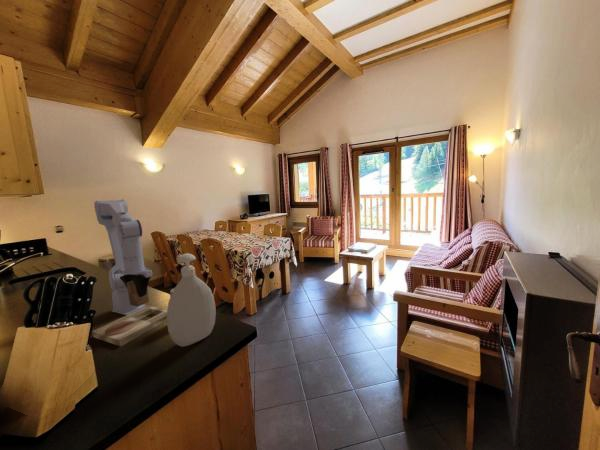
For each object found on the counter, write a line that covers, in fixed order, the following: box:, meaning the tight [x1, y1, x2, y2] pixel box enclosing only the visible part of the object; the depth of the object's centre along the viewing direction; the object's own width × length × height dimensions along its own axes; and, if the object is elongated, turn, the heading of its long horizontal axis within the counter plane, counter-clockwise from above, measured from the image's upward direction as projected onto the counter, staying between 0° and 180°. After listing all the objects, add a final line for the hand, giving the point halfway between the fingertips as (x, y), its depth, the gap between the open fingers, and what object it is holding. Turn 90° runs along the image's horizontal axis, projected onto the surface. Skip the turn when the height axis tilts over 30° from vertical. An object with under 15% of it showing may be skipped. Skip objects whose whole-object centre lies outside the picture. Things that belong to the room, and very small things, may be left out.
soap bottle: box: [166, 252, 217, 348], centre depth 76 cm, size 14×8×27 cm, turn 138°
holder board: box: [91, 305, 168, 347], centre depth 87 cm, size 14×19×2 cm
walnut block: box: [127, 281, 150, 307], centre depth 87 cm, size 4×4×8 cm
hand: (138, 294), depth 87 cm, fingers closed on walnut block, 4 cm apart
